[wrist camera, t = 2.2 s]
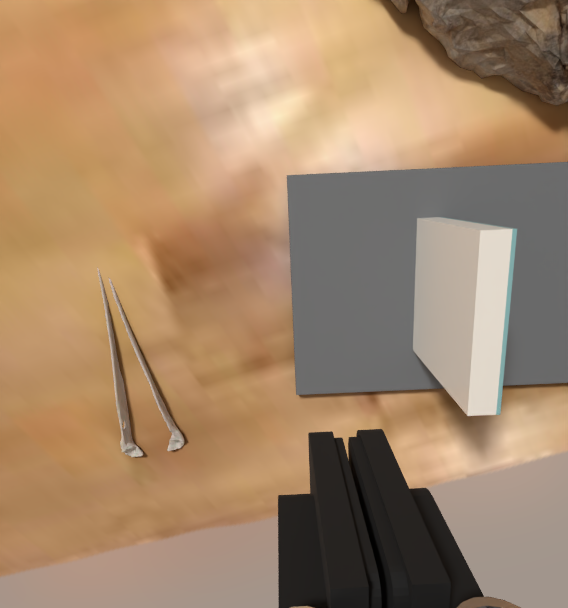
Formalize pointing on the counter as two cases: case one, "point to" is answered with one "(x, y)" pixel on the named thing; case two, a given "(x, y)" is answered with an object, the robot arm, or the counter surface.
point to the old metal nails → (121, 401)
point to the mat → (401, 270)
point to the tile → (464, 307)
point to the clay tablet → (504, 40)
